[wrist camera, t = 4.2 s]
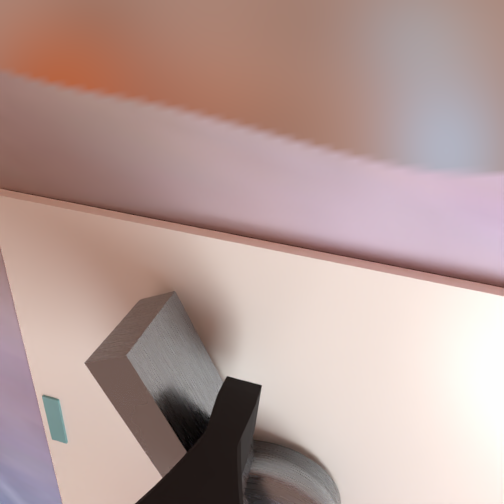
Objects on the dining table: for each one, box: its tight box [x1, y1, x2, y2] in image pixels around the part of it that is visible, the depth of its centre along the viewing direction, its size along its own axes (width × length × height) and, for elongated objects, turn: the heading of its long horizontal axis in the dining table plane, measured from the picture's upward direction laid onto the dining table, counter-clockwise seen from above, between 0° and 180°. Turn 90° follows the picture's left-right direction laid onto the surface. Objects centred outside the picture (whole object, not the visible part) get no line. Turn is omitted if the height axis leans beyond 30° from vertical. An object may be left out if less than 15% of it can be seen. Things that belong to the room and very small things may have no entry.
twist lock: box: [85, 291, 341, 504], centre depth 13 cm, size 13×6×3 cm, turn 22°
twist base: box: [0, 189, 504, 504], centre depth 16 cm, size 22×22×1 cm
